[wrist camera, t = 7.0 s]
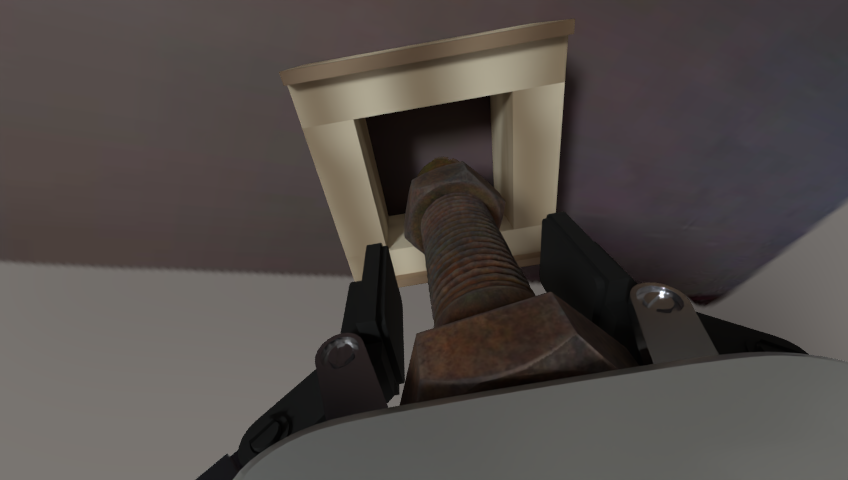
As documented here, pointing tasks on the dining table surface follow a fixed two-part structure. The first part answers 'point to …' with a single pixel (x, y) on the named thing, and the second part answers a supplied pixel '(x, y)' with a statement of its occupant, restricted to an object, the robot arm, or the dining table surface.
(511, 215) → the socket
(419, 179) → the bolt
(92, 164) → the dining table surface
